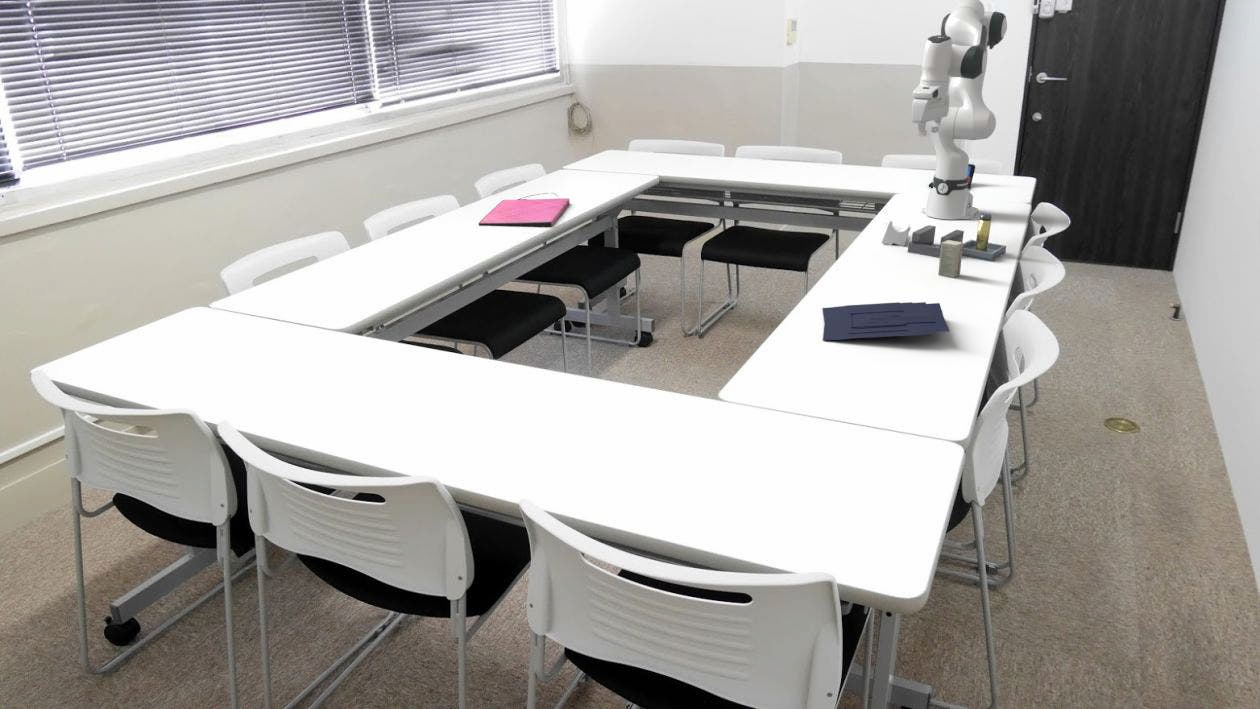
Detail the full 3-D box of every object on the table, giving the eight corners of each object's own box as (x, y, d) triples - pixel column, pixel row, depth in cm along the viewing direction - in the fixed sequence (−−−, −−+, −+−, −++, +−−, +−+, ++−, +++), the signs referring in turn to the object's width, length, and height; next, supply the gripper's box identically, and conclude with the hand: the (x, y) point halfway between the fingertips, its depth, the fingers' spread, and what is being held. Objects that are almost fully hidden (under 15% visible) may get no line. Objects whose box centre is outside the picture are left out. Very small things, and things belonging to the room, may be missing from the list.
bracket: (902, 248, 304) (910, 227, 300) (881, 242, 304) (889, 221, 301) (901, 238, 315) (909, 217, 312) (881, 232, 316) (889, 211, 313)
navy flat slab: (950, 344, 220) (950, 330, 219) (823, 351, 227) (822, 337, 225) (938, 310, 242) (938, 297, 241) (822, 317, 249) (822, 304, 248)
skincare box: (960, 275, 273) (964, 242, 270) (953, 278, 271) (957, 245, 267) (944, 271, 277) (948, 239, 273) (937, 274, 274) (941, 242, 270)
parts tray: (969, 247, 301) (970, 239, 300) (1005, 253, 294) (1006, 245, 293) (955, 254, 293) (956, 247, 292) (991, 261, 286) (992, 253, 285)
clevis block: (926, 242, 306) (928, 225, 304) (961, 248, 299) (963, 231, 296) (907, 252, 296) (909, 234, 294) (943, 258, 289) (945, 240, 287)
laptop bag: (551, 217, 329) (477, 217, 332) (552, 228, 330) (479, 228, 334) (571, 192, 365) (505, 192, 369) (572, 202, 367) (506, 202, 370)
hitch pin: (977, 249, 295) (982, 212, 291) (988, 251, 293) (993, 214, 288) (972, 251, 293) (978, 215, 288) (984, 253, 291) (989, 216, 286)
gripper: (937, 86, 299) (932, 129, 305) (910, 92, 285) (905, 137, 290) (956, 87, 296) (951, 131, 301) (929, 93, 281) (924, 139, 287)
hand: (928, 134), depth 296 cm, fingers open, 8 cm apart
